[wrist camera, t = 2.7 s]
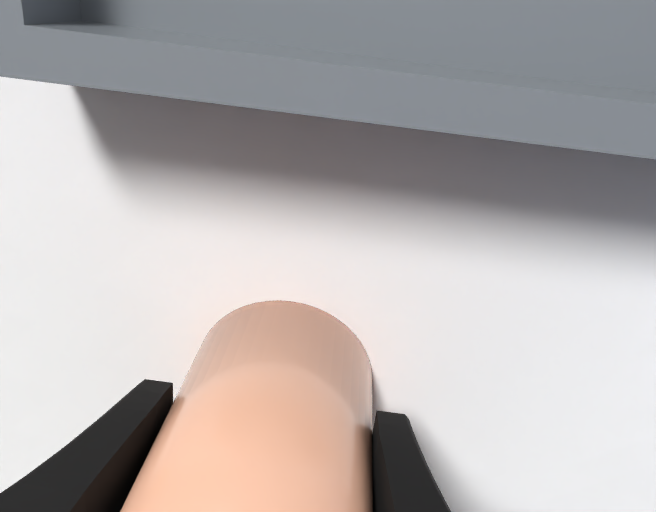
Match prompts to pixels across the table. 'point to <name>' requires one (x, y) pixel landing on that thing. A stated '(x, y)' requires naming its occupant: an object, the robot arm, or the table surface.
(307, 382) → the peach cylinder
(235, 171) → the table surface
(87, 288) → the table surface
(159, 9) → the tray
